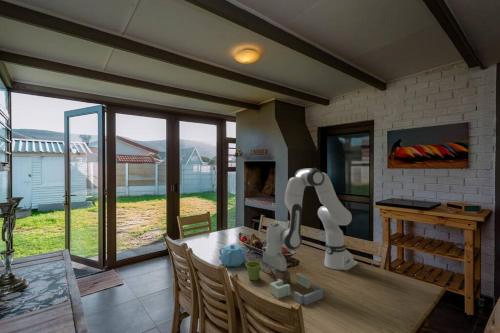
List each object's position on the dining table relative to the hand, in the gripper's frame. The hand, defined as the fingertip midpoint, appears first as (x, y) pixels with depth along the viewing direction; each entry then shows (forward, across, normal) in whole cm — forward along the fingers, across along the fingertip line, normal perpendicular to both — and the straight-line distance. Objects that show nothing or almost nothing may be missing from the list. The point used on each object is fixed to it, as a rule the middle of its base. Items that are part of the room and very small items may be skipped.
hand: (274, 273), depth 151 cm
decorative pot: (+2, +32, +13) cm, 35 cm away
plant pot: (+2, +5, +12) cm, 13 cm away
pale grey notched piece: (+2, -17, +3) cm, 18 cm away
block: (+2, -8, 0) cm, 8 cm away
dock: (+2, -30, 0) cm, 30 cm away
